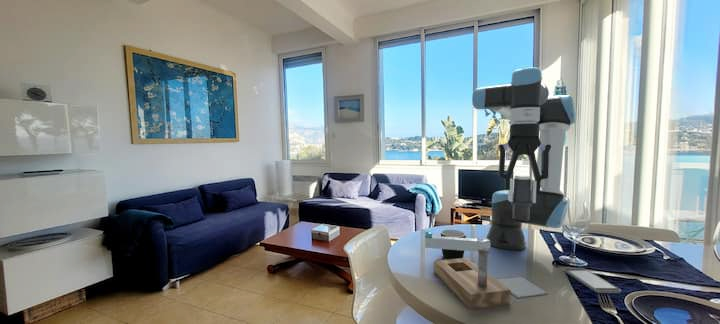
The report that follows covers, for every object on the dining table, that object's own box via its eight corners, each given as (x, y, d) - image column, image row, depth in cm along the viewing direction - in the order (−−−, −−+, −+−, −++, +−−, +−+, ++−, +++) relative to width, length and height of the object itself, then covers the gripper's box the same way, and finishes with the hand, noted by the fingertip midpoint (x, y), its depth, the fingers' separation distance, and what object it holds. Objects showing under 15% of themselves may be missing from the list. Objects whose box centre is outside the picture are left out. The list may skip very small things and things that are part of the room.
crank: (488, 248, 83) (489, 234, 82) (491, 253, 79) (491, 238, 79) (425, 244, 87) (425, 230, 86) (425, 248, 83) (425, 234, 83)
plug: (521, 215, 90) (522, 175, 89) (535, 220, 85) (537, 177, 84) (506, 217, 89) (508, 175, 88) (520, 221, 84) (522, 177, 83)
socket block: (465, 268, 101) (466, 230, 100) (510, 303, 80) (511, 255, 79) (434, 272, 99) (434, 233, 98) (470, 308, 77) (472, 259, 76)
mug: (469, 263, 105) (469, 236, 104) (445, 264, 105) (445, 237, 104) (456, 251, 117) (457, 226, 116) (435, 251, 117) (435, 227, 116)
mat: (521, 278, 94) (521, 276, 94) (547, 294, 84) (547, 292, 84) (494, 281, 92) (494, 280, 92) (517, 298, 82) (517, 296, 82)
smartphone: (584, 268, 100) (622, 290, 85) (583, 271, 100) (622, 294, 85) (562, 268, 100) (597, 290, 85) (562, 271, 100) (597, 294, 85)
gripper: (491, 123, 84) (489, 202, 86) (565, 121, 78) (561, 206, 80) (489, 124, 91) (487, 197, 93) (557, 123, 85) (553, 200, 87)
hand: (521, 201), depth 86 cm, fingers closed on plug, 5 cm apart
